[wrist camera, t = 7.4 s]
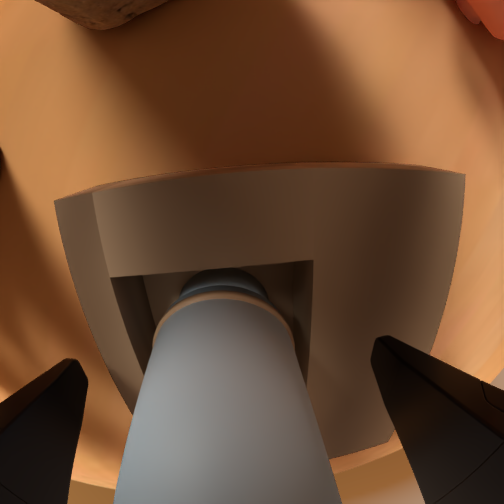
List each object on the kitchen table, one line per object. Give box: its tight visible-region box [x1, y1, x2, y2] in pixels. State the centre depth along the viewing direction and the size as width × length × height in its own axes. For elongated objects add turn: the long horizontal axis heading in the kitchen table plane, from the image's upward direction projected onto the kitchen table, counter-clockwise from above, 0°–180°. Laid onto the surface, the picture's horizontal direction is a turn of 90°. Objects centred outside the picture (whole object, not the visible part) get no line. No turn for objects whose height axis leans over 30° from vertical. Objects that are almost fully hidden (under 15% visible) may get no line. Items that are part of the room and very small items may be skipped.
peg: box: [113, 267, 342, 504], centre depth 6 cm, size 4×4×8 cm
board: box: [54, 162, 465, 459], centre depth 10 cm, size 12×14×3 cm
